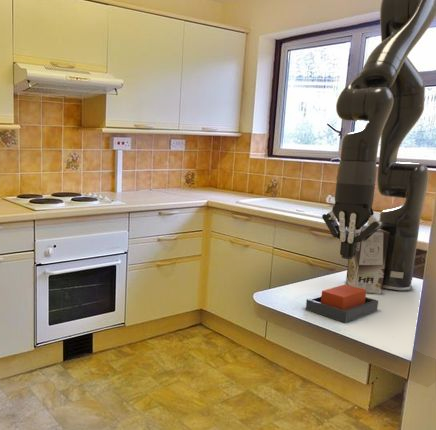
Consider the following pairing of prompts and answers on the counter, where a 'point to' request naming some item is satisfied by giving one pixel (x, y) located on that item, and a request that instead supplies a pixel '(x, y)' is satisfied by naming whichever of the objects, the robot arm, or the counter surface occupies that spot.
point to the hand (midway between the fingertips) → (347, 258)
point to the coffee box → (369, 262)
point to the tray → (339, 314)
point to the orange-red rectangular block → (343, 297)
